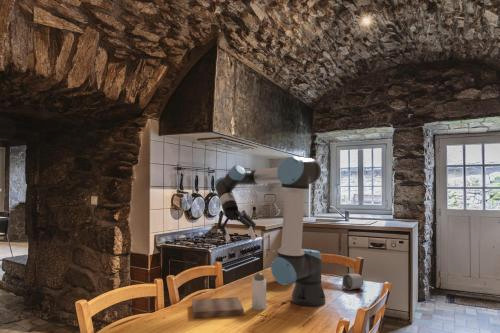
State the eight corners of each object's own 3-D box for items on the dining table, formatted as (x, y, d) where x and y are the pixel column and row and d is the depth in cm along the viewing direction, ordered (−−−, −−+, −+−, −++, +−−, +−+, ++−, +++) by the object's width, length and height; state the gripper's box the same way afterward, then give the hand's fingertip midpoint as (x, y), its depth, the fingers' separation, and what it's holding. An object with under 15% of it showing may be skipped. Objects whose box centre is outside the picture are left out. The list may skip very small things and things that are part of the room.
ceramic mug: (364, 289, 181) (364, 273, 181) (352, 291, 177) (352, 275, 177) (349, 284, 190) (349, 270, 191) (338, 286, 186) (337, 271, 187)
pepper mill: (264, 305, 156) (264, 271, 157) (267, 309, 150) (267, 274, 151) (250, 305, 155) (251, 271, 156) (253, 310, 149) (253, 274, 150)
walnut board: (237, 302, 159) (237, 297, 159) (243, 315, 143) (243, 309, 143) (192, 305, 155) (192, 299, 155) (193, 318, 140) (193, 312, 140)
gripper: (247, 208, 187) (261, 243, 174) (203, 209, 175) (214, 246, 162) (253, 199, 183) (267, 234, 170) (208, 199, 170) (220, 236, 157)
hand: (241, 240), depth 166 cm, fingers open, 13 cm apart
